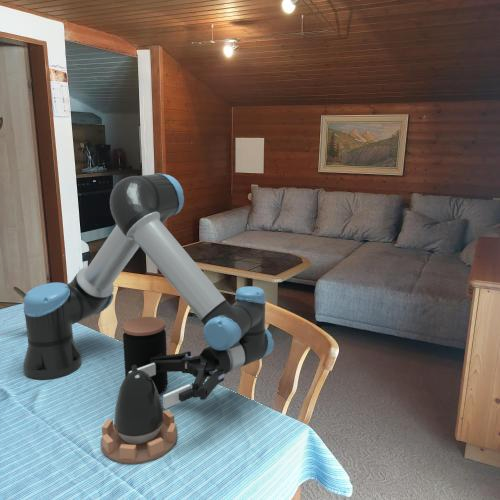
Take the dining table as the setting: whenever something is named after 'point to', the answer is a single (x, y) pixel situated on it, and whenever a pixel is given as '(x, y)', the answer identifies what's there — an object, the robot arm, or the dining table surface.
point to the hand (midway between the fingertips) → (145, 389)
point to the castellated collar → (143, 452)
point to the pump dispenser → (138, 408)
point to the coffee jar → (145, 346)
